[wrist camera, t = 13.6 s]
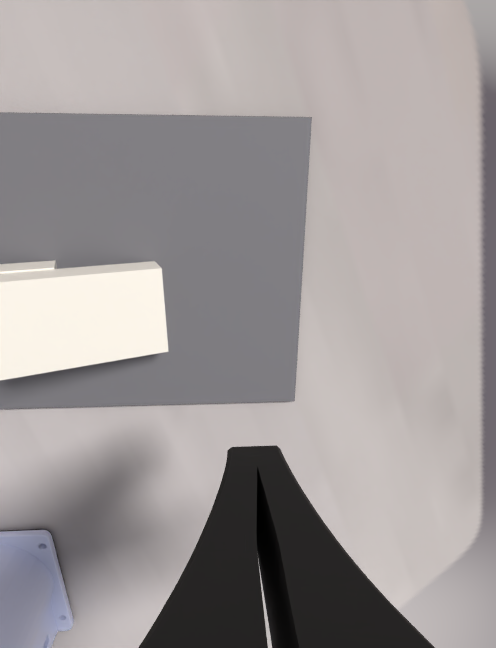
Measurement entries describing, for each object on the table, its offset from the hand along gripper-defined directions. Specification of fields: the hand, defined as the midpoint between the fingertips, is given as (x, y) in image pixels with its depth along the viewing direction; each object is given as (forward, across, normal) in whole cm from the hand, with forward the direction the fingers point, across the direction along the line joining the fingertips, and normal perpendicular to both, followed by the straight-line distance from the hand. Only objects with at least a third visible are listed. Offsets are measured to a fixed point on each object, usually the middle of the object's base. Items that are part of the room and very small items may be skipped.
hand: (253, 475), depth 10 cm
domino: (+9, +4, -2) cm, 10 cm away
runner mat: (+10, +11, -3) cm, 15 cm away
